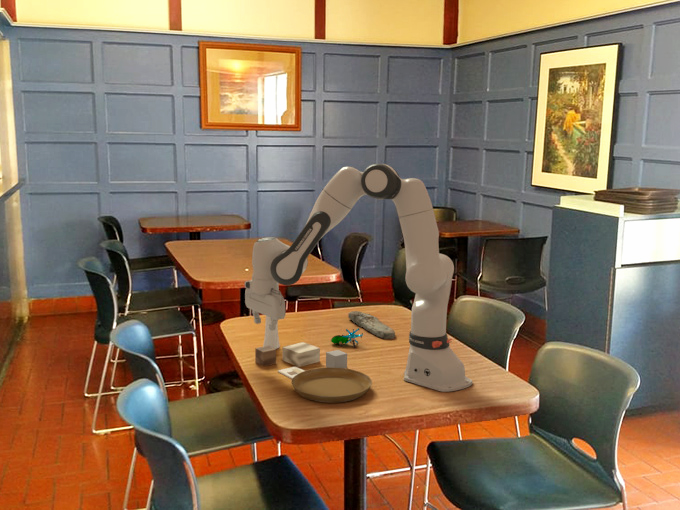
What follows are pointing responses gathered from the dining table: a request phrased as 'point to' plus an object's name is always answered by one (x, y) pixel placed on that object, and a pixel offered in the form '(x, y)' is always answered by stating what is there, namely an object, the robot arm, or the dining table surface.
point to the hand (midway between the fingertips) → (264, 326)
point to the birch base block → (301, 354)
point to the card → (291, 371)
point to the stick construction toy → (346, 338)
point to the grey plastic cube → (336, 359)
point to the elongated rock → (372, 324)
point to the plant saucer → (331, 384)
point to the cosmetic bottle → (271, 335)
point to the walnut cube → (265, 355)
